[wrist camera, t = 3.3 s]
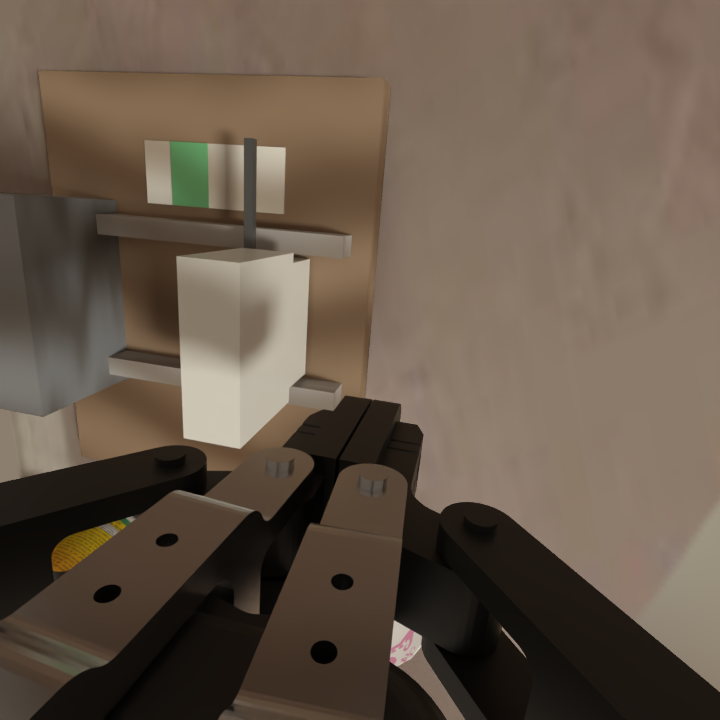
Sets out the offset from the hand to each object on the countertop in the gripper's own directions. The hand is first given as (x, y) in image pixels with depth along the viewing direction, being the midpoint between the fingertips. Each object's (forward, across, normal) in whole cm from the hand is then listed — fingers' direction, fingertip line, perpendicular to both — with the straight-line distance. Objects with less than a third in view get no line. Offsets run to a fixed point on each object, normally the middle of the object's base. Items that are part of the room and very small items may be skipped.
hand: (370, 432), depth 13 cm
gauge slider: (+11, +8, -3) cm, 14 cm away
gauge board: (+13, +12, 0) cm, 18 cm away
